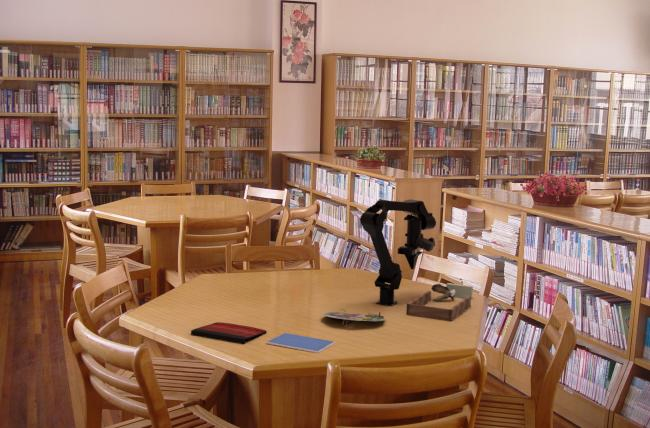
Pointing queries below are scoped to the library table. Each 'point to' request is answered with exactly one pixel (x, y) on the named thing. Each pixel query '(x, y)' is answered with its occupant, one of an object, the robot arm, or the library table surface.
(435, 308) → the crate
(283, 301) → the library table surface
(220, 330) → the binder
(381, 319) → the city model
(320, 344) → the blue book
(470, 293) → the stop rail
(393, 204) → the robot arm
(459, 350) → the library table surface
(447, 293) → the eagle figurine
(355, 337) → the library table surface
